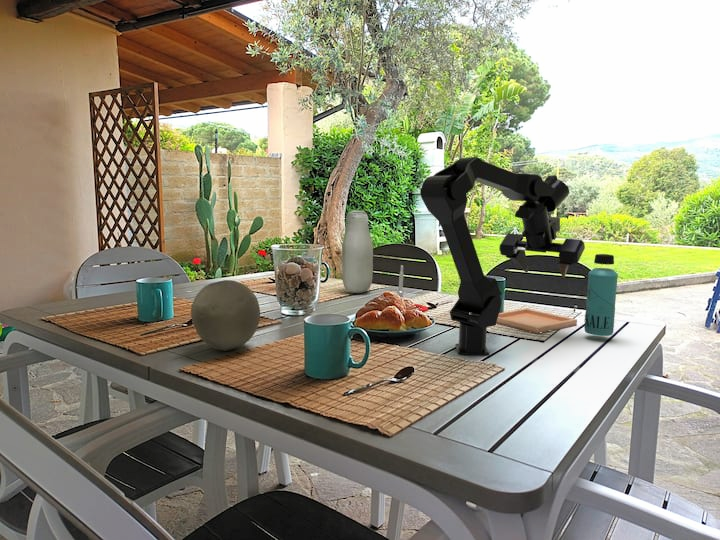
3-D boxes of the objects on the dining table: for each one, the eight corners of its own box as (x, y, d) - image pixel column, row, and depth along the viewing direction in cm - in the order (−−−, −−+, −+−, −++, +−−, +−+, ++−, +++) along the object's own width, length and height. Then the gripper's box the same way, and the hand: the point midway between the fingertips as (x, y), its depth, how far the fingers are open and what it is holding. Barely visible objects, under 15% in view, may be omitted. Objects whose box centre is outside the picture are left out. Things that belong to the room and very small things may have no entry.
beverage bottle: (604, 335, 126) (611, 252, 123) (619, 342, 119) (626, 255, 116) (578, 335, 126) (583, 252, 123) (591, 342, 119) (597, 255, 116)
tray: (537, 334, 126) (538, 328, 126) (487, 320, 139) (487, 315, 139) (576, 325, 135) (577, 319, 135) (525, 313, 148) (525, 308, 148)
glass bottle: (358, 289, 184) (359, 209, 180) (377, 293, 176) (378, 210, 172) (336, 292, 178) (336, 209, 174) (355, 296, 170) (355, 210, 166)
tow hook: (431, 309, 154) (401, 305, 158) (434, 266, 152) (404, 263, 156) (422, 315, 147) (391, 311, 150) (425, 270, 144) (394, 267, 148)
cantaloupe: (190, 344, 115) (188, 277, 113) (255, 339, 120) (253, 274, 118) (194, 364, 102) (191, 288, 100) (266, 357, 107) (265, 284, 105)
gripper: (589, 204, 119) (594, 257, 128) (511, 201, 130) (521, 249, 139) (573, 235, 113) (580, 287, 122) (493, 228, 124) (504, 276, 133)
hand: (545, 273), depth 129 cm, fingers open, 9 cm apart
